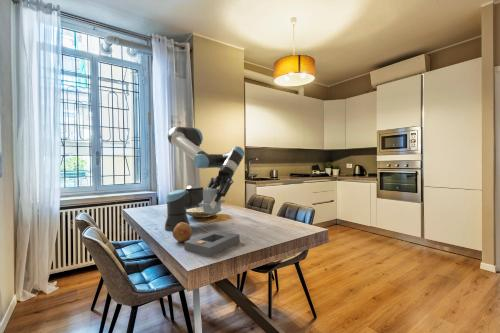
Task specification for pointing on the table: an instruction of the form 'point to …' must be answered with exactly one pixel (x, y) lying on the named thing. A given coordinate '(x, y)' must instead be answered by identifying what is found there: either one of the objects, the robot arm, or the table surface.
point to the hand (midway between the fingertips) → (206, 206)
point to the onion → (182, 232)
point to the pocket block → (212, 243)
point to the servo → (207, 199)
